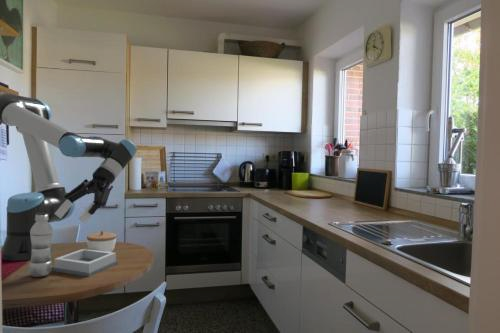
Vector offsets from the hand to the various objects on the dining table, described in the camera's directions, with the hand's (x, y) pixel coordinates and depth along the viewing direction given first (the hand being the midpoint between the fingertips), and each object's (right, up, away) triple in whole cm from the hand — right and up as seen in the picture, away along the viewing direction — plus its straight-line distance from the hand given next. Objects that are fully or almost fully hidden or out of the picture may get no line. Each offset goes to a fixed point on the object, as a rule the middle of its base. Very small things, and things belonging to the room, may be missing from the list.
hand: (69, 218), depth 120 cm
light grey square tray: (+4, -18, +4) cm, 19 cm away
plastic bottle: (-6, -18, -6) cm, 20 cm away
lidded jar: (+3, -17, +19) cm, 26 cm away
